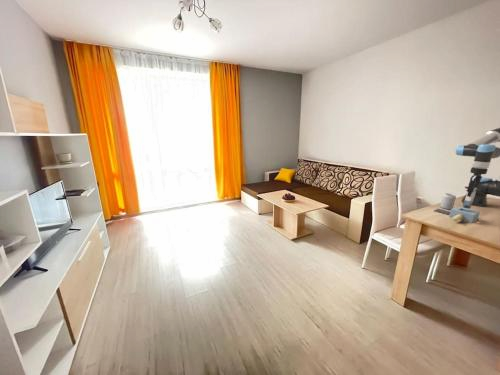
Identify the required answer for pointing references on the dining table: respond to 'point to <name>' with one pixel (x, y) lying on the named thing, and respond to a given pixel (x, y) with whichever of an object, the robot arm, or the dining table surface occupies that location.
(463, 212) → the block
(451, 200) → the can
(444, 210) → the mat
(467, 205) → the silver tall rounded piece
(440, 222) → the dining table surface
